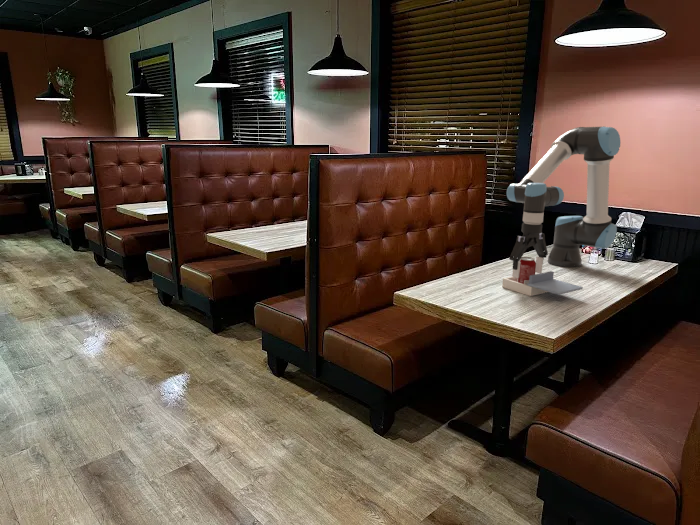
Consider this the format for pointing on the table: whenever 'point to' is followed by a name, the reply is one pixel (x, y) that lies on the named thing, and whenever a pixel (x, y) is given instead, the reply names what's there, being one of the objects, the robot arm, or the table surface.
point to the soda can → (526, 269)
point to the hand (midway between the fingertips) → (527, 275)
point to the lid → (551, 283)
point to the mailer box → (521, 287)
